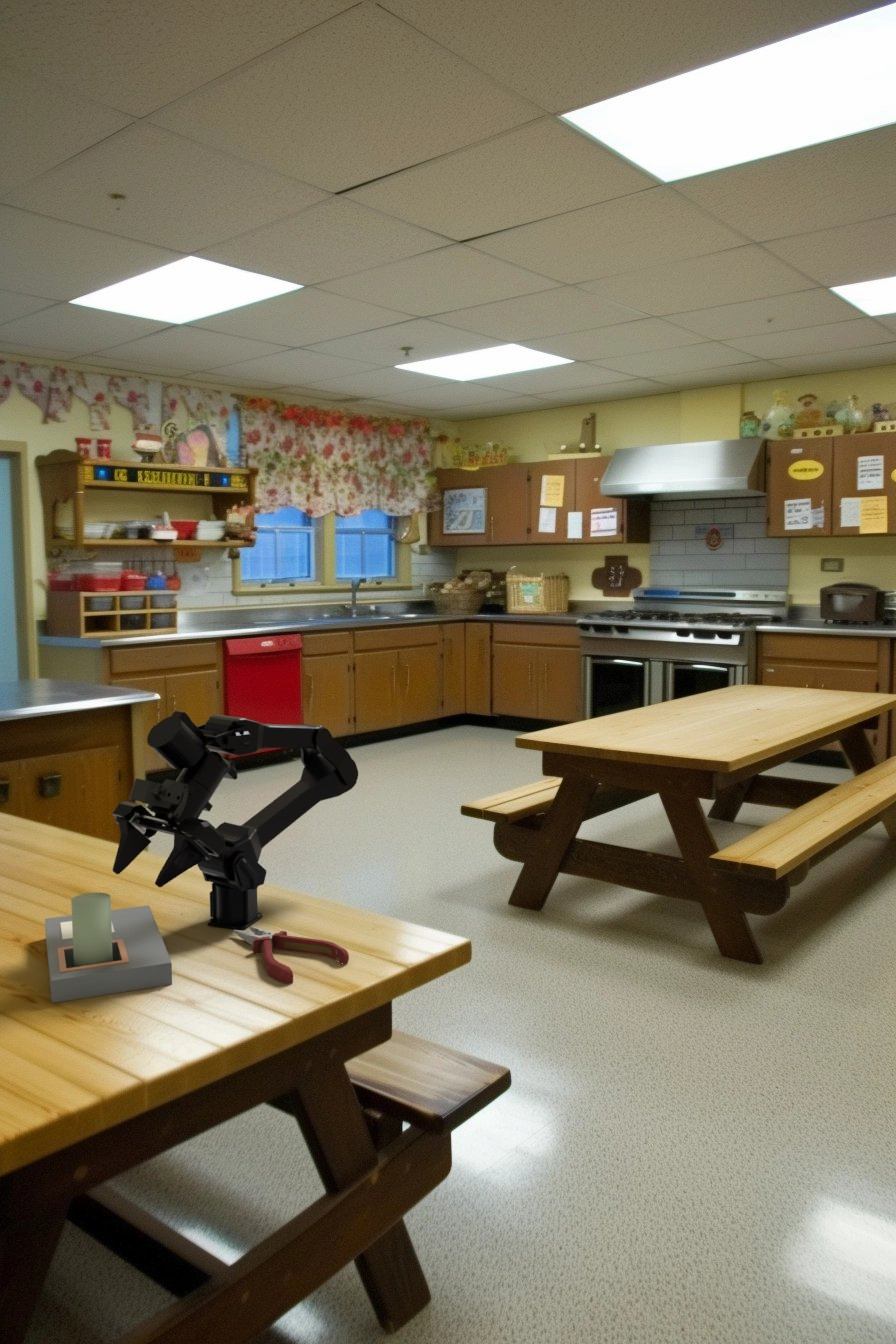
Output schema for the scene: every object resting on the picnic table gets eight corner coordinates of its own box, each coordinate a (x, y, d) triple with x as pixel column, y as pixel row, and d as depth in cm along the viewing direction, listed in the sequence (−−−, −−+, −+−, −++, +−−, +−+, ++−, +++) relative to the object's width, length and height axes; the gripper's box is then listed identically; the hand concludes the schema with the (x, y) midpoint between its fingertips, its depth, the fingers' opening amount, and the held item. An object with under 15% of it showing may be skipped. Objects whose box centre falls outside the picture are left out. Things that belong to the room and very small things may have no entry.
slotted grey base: (172, 984, 136) (171, 961, 136) (52, 1003, 130) (50, 979, 130) (149, 923, 158) (149, 904, 158) (45, 938, 152) (45, 917, 152)
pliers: (273, 927, 158) (273, 910, 158) (353, 965, 143) (352, 948, 143) (207, 947, 150) (207, 930, 150) (284, 990, 136) (284, 971, 135)
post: (116, 968, 141) (113, 891, 140) (109, 983, 136) (106, 904, 135) (79, 970, 140) (76, 893, 139) (70, 985, 136) (67, 905, 134)
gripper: (121, 748, 151) (58, 837, 143) (207, 765, 140) (144, 863, 133) (164, 789, 158) (107, 877, 151) (250, 808, 148) (193, 903, 140)
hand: (135, 879), depth 143 cm, fingers open, 9 cm apart
